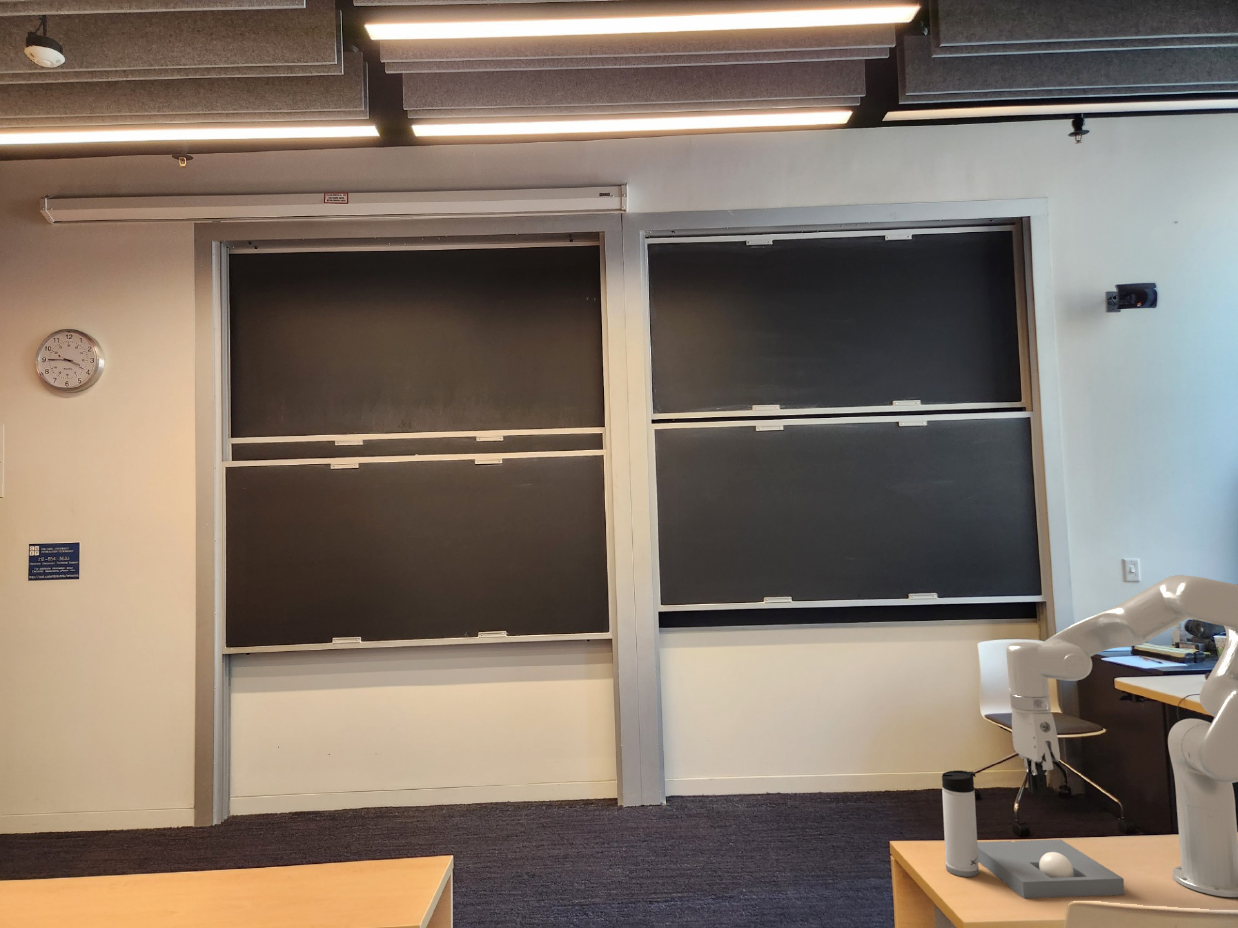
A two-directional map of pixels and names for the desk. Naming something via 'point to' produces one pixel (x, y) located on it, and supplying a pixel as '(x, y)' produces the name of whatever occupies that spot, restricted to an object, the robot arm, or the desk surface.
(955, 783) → the travel mug
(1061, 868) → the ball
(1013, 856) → the plate
